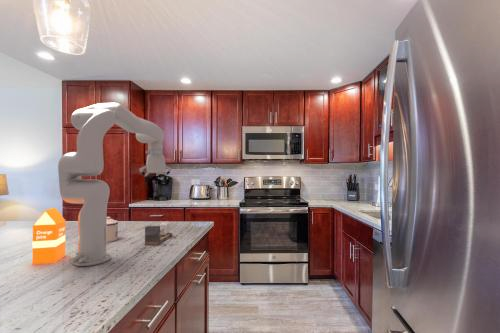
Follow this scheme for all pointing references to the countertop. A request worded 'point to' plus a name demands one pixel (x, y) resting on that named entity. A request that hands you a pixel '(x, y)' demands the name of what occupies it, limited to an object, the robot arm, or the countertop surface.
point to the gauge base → (154, 235)
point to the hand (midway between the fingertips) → (155, 183)
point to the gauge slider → (164, 228)
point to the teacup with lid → (112, 230)
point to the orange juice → (49, 237)
